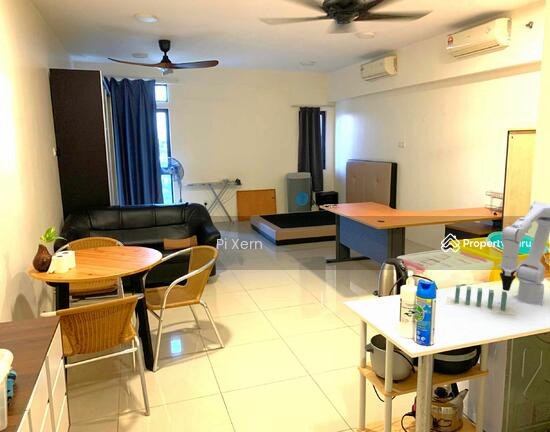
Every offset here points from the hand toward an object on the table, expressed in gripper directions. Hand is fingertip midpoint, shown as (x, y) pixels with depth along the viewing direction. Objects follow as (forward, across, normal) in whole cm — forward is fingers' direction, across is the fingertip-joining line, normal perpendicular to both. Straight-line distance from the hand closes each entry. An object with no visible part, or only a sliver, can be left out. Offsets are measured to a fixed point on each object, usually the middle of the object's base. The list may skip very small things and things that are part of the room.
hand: (506, 287), depth 173 cm
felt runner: (+10, +1, -9) cm, 14 cm away
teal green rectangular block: (+10, 0, 0) cm, 10 cm away
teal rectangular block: (+10, +1, -10) cm, 14 cm away
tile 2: (+10, +1, -5) cm, 11 cm away
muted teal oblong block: (+10, +2, -14) cm, 17 cm away
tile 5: (+10, +2, -18) cm, 21 cm away
